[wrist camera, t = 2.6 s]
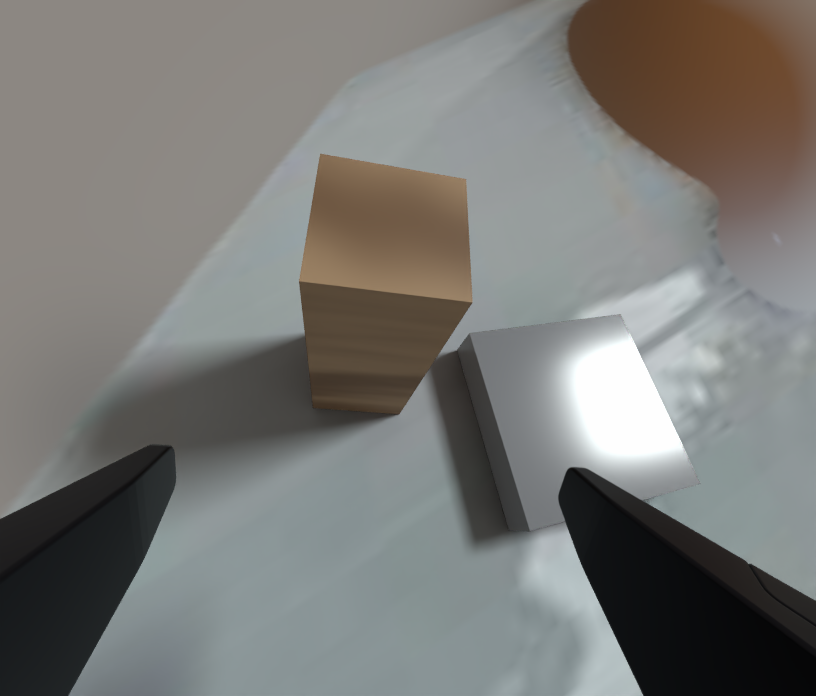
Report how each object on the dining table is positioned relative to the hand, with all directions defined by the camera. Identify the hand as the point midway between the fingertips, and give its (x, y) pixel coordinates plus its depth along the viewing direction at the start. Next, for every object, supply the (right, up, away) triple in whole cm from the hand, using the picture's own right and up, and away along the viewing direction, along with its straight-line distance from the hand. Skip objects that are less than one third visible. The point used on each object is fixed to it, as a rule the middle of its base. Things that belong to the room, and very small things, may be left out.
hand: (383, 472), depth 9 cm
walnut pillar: (-2, +1, +15) cm, 15 cm away
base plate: (+10, -2, +16) cm, 19 cm away
